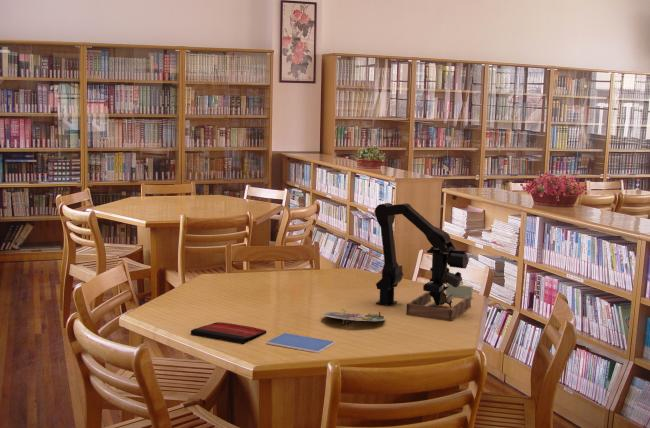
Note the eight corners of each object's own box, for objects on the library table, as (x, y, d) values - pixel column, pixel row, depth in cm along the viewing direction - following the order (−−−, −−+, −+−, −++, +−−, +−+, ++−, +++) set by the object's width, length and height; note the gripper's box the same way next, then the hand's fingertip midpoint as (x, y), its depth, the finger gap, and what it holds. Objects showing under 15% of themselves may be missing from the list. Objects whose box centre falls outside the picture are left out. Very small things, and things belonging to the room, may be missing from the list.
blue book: (336, 344, 255) (336, 340, 255) (318, 355, 244) (318, 351, 244) (284, 336, 263) (284, 332, 263) (265, 345, 252) (265, 341, 252)
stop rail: (470, 299, 318) (471, 287, 318) (445, 295, 323) (446, 284, 322) (472, 298, 320) (472, 286, 320) (447, 294, 325) (447, 283, 324)
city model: (395, 322, 290) (395, 305, 290) (382, 331, 267) (383, 313, 267) (330, 317, 296) (330, 301, 296) (312, 326, 274) (313, 308, 274)
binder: (244, 338, 251) (190, 329, 260) (243, 345, 251) (190, 336, 260) (269, 328, 266) (217, 320, 275) (268, 335, 266) (217, 326, 275)
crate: (451, 321, 285) (451, 310, 284) (406, 314, 292) (406, 304, 292) (470, 306, 307) (471, 296, 306) (428, 300, 314) (428, 290, 314)
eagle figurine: (449, 300, 311) (427, 296, 310) (454, 288, 306) (432, 283, 306) (449, 314, 305) (427, 310, 304) (455, 302, 300) (432, 298, 300)
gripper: (452, 272, 284) (450, 314, 286) (467, 263, 300) (465, 303, 302) (423, 268, 289) (421, 310, 291) (439, 260, 305) (437, 299, 307)
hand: (437, 305), depth 298 cm, fingers closed
